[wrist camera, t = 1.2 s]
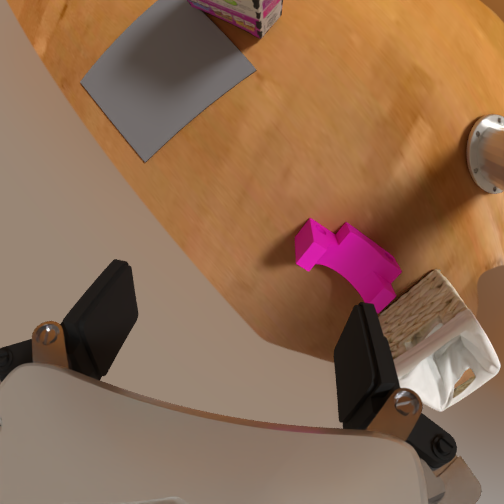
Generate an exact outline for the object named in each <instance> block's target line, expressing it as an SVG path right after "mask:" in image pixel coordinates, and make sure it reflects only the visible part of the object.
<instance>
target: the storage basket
mask: <svg viewBox="0 0 504 504" xmlns="http://www.w3.org/2000/svg"><path fill="white" fill-rule="evenodd" d="M440 271H441V270H437V269H436V270H434V271H432V272H430V273H429V274H428V275H427V276H426V277H425V278H423V279H422V280H421V281H420V282H419V283H418V284H417V285H415V286H413V287H412V288H411V289H410V290H409V292H408V293H405V294H404V295H402V296H401V297H400V298H399V299H398V300H397V301H396V302H394V303H393V304H392V305H390V306H389V308H388V309H386V310H385V311H383V312H382V313H381V314H380V316H379V322H380V325H381V328H382V332H383V335H384V336H385V337H386V338H387V340H388V343H389V346H390V350H391V353H392V357H393V361H394V364H395V368H396V372H397V376H398V380H399V384H400V388H408V389H411V390H413V391H414V392H416V393H417V394H418V395H419V397H420V398H421V401H422V403H424V404H425V405H427V406H429V407H431V408H432V409H434V410H437V411H439V412H441V411H443V410H445V409H447V408H448V407H450V406H451V405H453V404H455V403H456V402H458V401H460V400H461V399H463V398H464V397H466V396H467V395H469V394H470V393H472V392H473V391H475V390H476V389H477V388H479V387H480V386H482V385H483V384H484V383H485V382H487V381H488V380H489V379H491V378H492V377H494V376H495V375H496V374H497V373H498V372H499V369H500V362H499V360H498V357H497V355H496V352H495V351H494V348H493V346H492V344H491V343H490V340H489V339H488V337H487V335H486V334H485V332H484V331H483V329H482V327H481V326H480V324H479V322H478V321H477V319H476V318H475V316H474V315H473V313H472V311H471V310H470V309H468V308H467V306H466V304H465V303H464V301H463V300H462V298H461V297H460V296H459V294H458V293H457V291H456V290H455V288H454V287H453V286H452V284H451V283H450V282H449V281H448V280H447V278H446V277H444V276H443V275H442V274H441V273H440ZM469 368H471V369H472V371H473V372H474V374H475V376H474V377H471V378H470V379H469V380H468V381H466V382H465V383H463V384H461V385H460V386H458V387H457V388H455V389H454V385H455V383H456V382H457V381H458V380H459V379H460V378H461V376H462V375H463V373H464V372H465V371H466V370H467V369H469Z"/></svg>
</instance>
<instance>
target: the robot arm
mask: <svg viewBox="0 0 504 504" xmlns="http://www.w3.org/2000/svg"><path fill="white" fill-rule="evenodd" d="M467 163H468V168H469V171H470V174H471V176H472V178H473V180H474V181H475V183H476V184H477V185H478V186H479V187H480V188H481V189H483V190H484V191H486V192H488V193H492V194H497V193H501V192H503V191H504V117H502V116H500V115H496V114H488V115H484V116H483V117H481V118H480V119H479V120H478V121H477V122H476V123H475V124H474V126H473V128H472V130H471V132H470V134H469V138H468V142H467ZM137 318H138V308H137V302H136V296H135V289H134V283H133V276H132V269H131V266H129V265H128V263H127V262H126V261H121V260H117V259H115V260H113V261H112V262H111V263H110V264H109V266H108V267H107V268H106V269H105V270H104V271H103V272H102V273H101V275H100V276H99V277H98V278H97V279H96V280H95V282H94V283H93V284H92V285H91V286H90V287H89V289H88V290H87V291H86V292H85V293H84V294H83V296H82V297H81V298H80V299H79V301H78V302H77V303H76V304H75V305H74V307H73V308H72V309H71V310H70V312H69V313H68V314H67V315H66V317H65V318H64V319H63V322H62V323H61V324H59V323H57V322H54V321H47V322H44V323H41V324H40V325H39V326H37V327H36V328H35V330H34V332H33V333H32V339H30V340H27V341H23V342H20V343H16V344H13V345H10V346H6V347H3V348H0V504H475V503H476V502H477V501H478V499H479V498H480V496H481V492H482V491H481V485H480V483H479V481H478V480H477V478H476V477H475V475H474V474H473V473H472V471H471V470H470V468H469V467H468V466H467V464H466V463H465V461H464V460H463V459H462V457H461V456H459V457H457V456H456V451H457V446H456V442H455V440H454V439H453V437H452V436H451V435H450V434H449V433H447V432H446V431H445V430H443V429H442V428H441V427H439V426H438V425H437V424H435V423H434V422H433V421H431V420H430V419H429V418H427V417H426V416H425V415H424V414H422V409H423V404H422V401H421V398H420V397H419V395H418V394H417V393H416V392H414V391H413V390H411V389H408V388H400V384H399V380H398V376H397V372H396V368H395V364H394V361H393V357H392V353H391V350H390V346H389V343H388V340H387V338H386V337H385V336H384V335H383V332H382V328H381V325H380V322H379V318H378V315H377V312H376V309H375V306H374V304H371V303H364V302H360V303H359V304H358V305H355V306H354V307H353V310H352V312H351V314H350V317H349V319H348V321H347V323H346V326H345V328H344V330H343V332H342V334H341V336H340V339H339V341H338V343H337V345H336V347H335V350H334V364H335V374H336V386H337V397H338V398H337V399H338V412H339V421H340V422H343V429H339V428H320V427H307V426H296V425H285V424H276V423H268V422H260V421H254V420H247V419H241V418H235V417H229V416H224V415H219V414H214V413H209V412H204V411H200V410H195V409H191V408H187V407H183V406H179V405H175V404H171V403H168V402H164V401H160V400H157V399H154V398H150V397H147V396H143V395H140V394H137V393H134V392H131V391H128V390H124V389H122V388H119V387H116V386H113V385H111V384H108V383H105V382H102V381H100V379H101V377H102V376H105V375H106V374H107V372H108V370H109V368H110V367H111V365H112V363H113V361H114V359H115V357H116V356H117V354H118V352H119V350H120V349H121V347H122V345H123V343H124V341H125V340H126V338H127V336H128V334H129V333H130V331H131V329H132V328H133V326H134V324H135V322H136V321H137Z"/></svg>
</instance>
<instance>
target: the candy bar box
mask: <svg viewBox="0 0 504 504" xmlns="http://www.w3.org/2000/svg"><path fill="white" fill-rule="evenodd" d="M187 1H188V2H189V4H190V5H191V6H192V7H194V8H197V9H199V10H202V11H204V12H206V13H209V14H211V15H213V16H216V17H218V18H220V19H222V20H224V21H227V22H229V23H231V24H233V25H235V26H237V27H239V28H241V29H243V30H245V31H247V32H249V33H251V34H252V35H254V36H256V37H258V38H260V39H261V38H262V37H263V36H264V35H265V34H266V32H267V31H268V30H269V29H270V28H271V26H272V25H273V24H274V23H275V22H276V21H277V20H278V18H279V17H280V16H281V14H282V4H283V0H187Z"/></svg>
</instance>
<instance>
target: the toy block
mask: <svg viewBox="0 0 504 504" xmlns="http://www.w3.org/2000/svg"><path fill="white" fill-rule="evenodd" d="M295 254H296V264H297V265H299V266H300V267H302V268H304V269H305V270H307V271H310V270H311V269H312V267H313V266H314V265H315V264H321V265H324V266H327V267H329V268H331V269H333V270H335V271H336V272H338V273H339V274H341V275H342V276H343V277H344V278H346V279H347V280H348V281H349V282H350V283H351V284H352V285H353V286H354V288H355V289H356V290H357V291H358V293H359V294H360V295H361V297H362V299H363V300H364V302H365V303H371V304H374V306H375V309H376V312H377V313H380V312H381V311H382V310H383V309H384V308H385V307H386V306H387V305H388V304H389V303H390V302H391V301H392V300H393V299H394V298H395V297H396V294H395V292H394V290H393V287H392V285H391V283H392V282H393V281H394V280H395V279H396V278H397V277H398V276H399V275H400V274H401V272H402V271H401V269H400V267H399V265H398V264H397V262H396V260H395V258H394V257H393V256H392V255H391V254H389V253H388V252H387V251H385V250H384V249H383V248H381V247H380V246H379V245H377V244H376V243H375V242H373V241H372V240H371V239H369V238H368V237H367V236H365V235H364V234H362V233H361V232H360V231H358V230H357V229H356V228H354V227H353V226H351V225H350V224H349V223H347V222H345V223H344V225H343V226H342V227H341V228H340V230H339V231H338V232H337V233H336V235H335V234H334V233H332V232H331V231H329V230H328V229H326V228H325V227H323V226H322V225H320V224H319V223H317V222H316V221H314V220H313V219H311V218H309V219H308V221H307V222H306V223H305V225H304V226H303V227H302V229H301V230H300V231H299V233H298V234H297V235H296V236H295Z"/></svg>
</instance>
